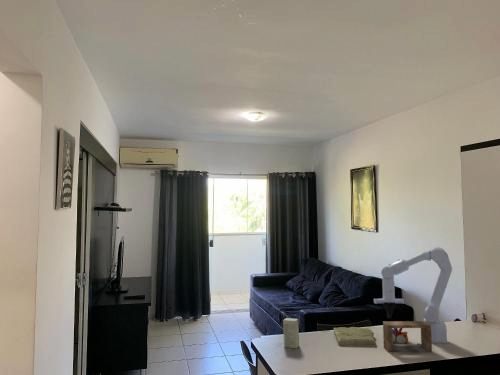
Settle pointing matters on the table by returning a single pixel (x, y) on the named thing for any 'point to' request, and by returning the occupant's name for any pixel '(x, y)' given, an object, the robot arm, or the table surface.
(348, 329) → the folded green towel
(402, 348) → the walnut shelf
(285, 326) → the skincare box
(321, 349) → the table surface
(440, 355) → the table surface
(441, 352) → the table surface
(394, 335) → the multicoloured spiky piece
